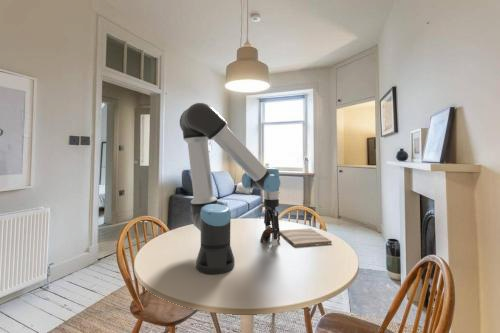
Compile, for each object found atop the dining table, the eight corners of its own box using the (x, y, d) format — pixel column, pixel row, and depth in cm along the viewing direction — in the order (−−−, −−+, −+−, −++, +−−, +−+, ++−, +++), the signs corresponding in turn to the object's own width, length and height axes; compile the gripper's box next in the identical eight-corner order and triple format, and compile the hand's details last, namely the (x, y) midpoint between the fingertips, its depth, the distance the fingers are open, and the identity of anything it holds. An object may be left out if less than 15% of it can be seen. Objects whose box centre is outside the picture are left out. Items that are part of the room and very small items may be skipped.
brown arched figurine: (262, 238, 129) (270, 225, 128) (276, 249, 124) (284, 235, 124) (254, 239, 118) (262, 225, 118) (269, 251, 114) (278, 236, 113)
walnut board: (331, 243, 119) (331, 240, 119) (294, 246, 115) (294, 243, 115) (310, 230, 141) (310, 228, 141) (278, 233, 136) (278, 230, 136)
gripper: (286, 202, 111) (286, 249, 111) (271, 194, 133) (271, 234, 134) (271, 202, 109) (271, 250, 110) (258, 195, 131) (258, 235, 132)
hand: (271, 241), depth 122 cm, fingers open, 10 cm apart
